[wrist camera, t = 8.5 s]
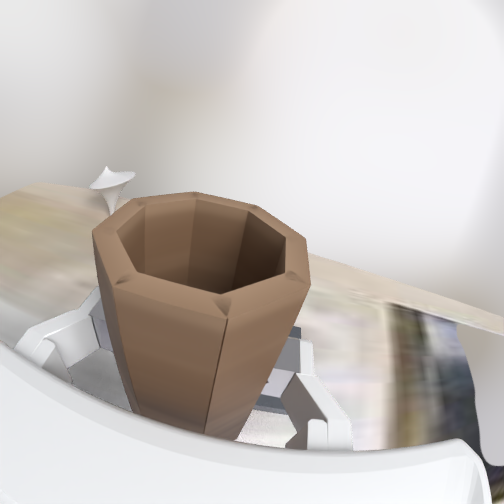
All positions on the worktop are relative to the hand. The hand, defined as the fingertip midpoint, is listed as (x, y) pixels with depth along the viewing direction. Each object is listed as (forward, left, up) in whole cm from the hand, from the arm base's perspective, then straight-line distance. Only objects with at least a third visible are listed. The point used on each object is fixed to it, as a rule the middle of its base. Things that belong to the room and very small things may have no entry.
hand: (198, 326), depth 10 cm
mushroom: (-31, +42, -22) cm, 57 cm away
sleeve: (0, -1, -5) cm, 6 cm away
